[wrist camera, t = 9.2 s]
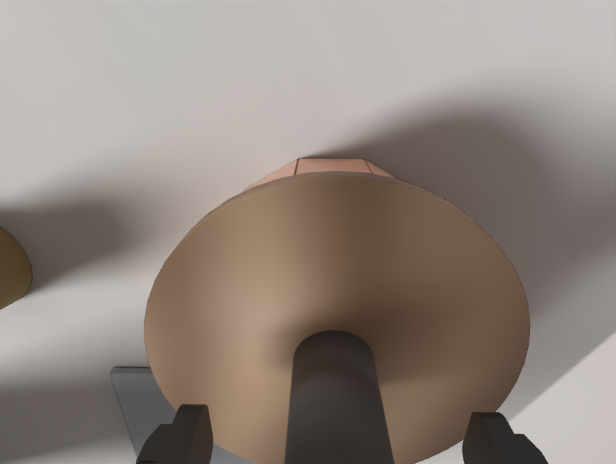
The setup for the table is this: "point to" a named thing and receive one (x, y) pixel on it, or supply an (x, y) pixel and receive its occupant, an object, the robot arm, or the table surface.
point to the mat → (151, 410)
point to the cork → (13, 270)
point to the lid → (337, 321)
